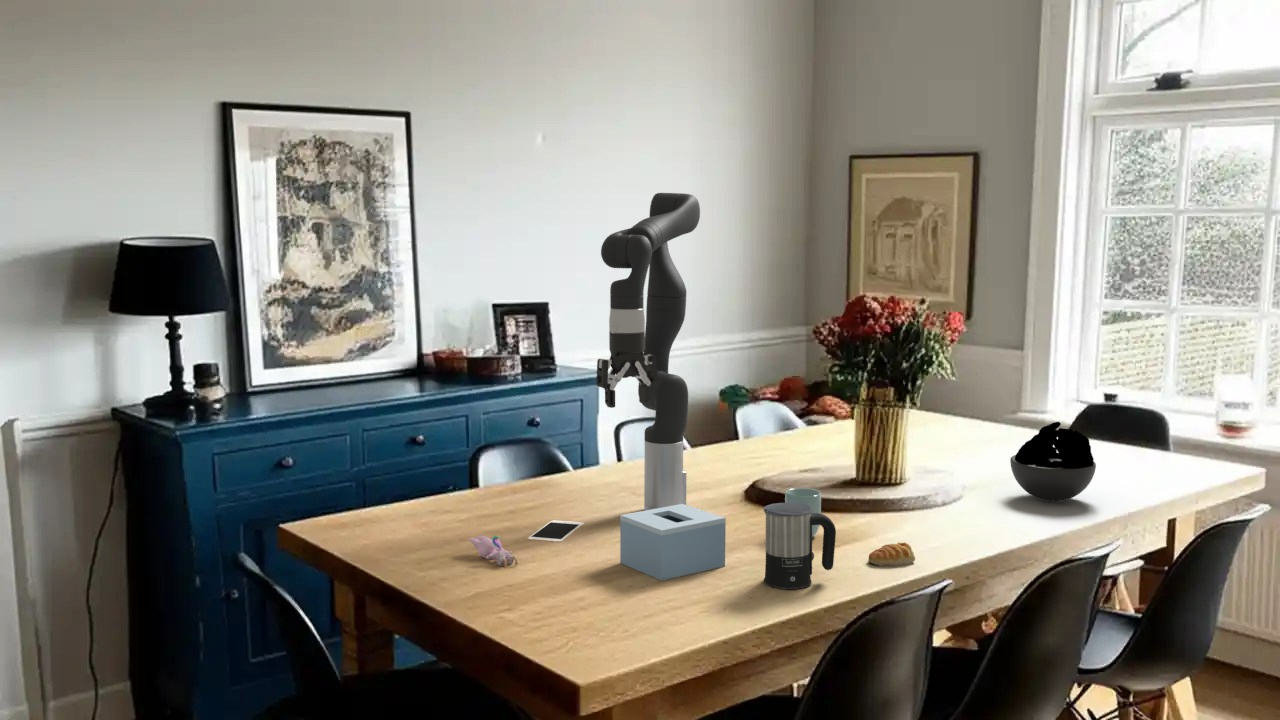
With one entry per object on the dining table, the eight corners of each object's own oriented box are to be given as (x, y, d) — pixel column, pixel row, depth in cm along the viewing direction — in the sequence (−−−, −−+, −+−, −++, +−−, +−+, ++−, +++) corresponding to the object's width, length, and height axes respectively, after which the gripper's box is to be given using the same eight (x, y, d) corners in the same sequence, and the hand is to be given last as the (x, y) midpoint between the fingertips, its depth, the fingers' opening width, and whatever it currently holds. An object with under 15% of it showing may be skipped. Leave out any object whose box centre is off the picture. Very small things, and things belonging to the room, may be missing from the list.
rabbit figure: (523, 571, 238) (484, 543, 249) (526, 544, 236) (486, 517, 247) (497, 577, 234) (458, 548, 245) (500, 549, 232) (460, 522, 243)
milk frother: (777, 592, 220) (778, 516, 218) (738, 569, 235) (739, 497, 233) (842, 583, 226) (844, 508, 224) (800, 561, 240) (801, 490, 238)
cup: (823, 533, 261) (824, 489, 259) (816, 542, 253) (817, 497, 252) (788, 530, 263) (789, 486, 262) (781, 539, 256) (782, 494, 255)
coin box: (682, 549, 248) (682, 503, 246) (725, 566, 236) (725, 517, 235) (620, 562, 238) (620, 515, 237) (661, 580, 227) (661, 530, 226)
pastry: (881, 570, 235) (881, 552, 234) (860, 561, 241) (860, 543, 240) (917, 564, 239) (918, 545, 238) (896, 555, 245) (896, 537, 244)
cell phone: (584, 525, 269) (584, 522, 269) (560, 544, 253) (560, 541, 253) (552, 522, 271) (552, 519, 271) (526, 541, 256) (526, 538, 255)
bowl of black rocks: (1067, 515, 277) (1071, 436, 275) (992, 499, 292) (995, 425, 289) (1109, 501, 290) (1113, 426, 288) (1035, 487, 305) (1038, 415, 303)
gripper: (643, 326, 255) (643, 399, 257) (589, 330, 247) (589, 406, 249) (664, 328, 249) (664, 404, 251) (609, 333, 241) (609, 411, 243)
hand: (627, 405), depth 250 cm, fingers open, 8 cm apart
